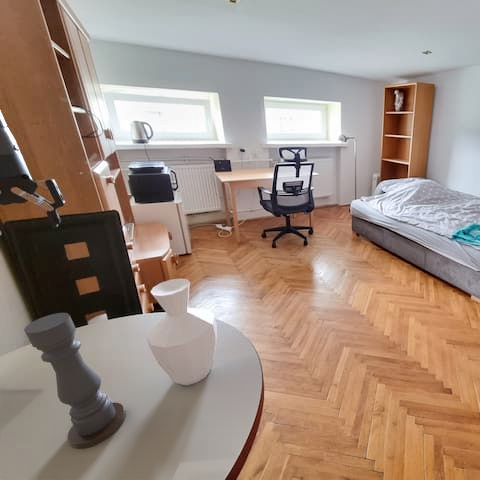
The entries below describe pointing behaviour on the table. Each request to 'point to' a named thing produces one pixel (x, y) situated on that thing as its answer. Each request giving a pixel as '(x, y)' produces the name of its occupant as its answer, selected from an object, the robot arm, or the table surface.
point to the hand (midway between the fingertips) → (27, 231)
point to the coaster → (101, 435)
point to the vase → (182, 334)
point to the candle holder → (71, 373)
